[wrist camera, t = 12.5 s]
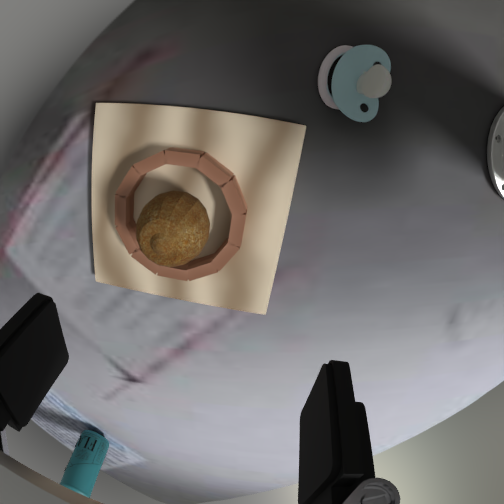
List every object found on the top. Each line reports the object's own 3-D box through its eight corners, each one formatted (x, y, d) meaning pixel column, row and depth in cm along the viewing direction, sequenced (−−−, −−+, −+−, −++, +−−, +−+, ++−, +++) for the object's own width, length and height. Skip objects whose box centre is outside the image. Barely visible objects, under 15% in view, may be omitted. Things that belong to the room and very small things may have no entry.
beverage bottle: (105, 427, 51) (73, 509, 33) (117, 444, 54) (89, 521, 36) (79, 421, 52) (44, 497, 34) (91, 438, 55) (62, 511, 37)
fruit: (143, 197, 30) (107, 228, 23) (198, 169, 29) (173, 193, 21) (173, 251, 32) (148, 293, 25) (228, 228, 31) (214, 268, 24)
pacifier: (307, 104, 27) (368, 127, 27) (314, 102, 21) (388, 132, 22) (329, 35, 24) (389, 59, 24) (341, 17, 18) (414, 49, 18)
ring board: (305, 125, 27) (309, 127, 25) (265, 308, 36) (265, 326, 33) (101, 102, 27) (85, 103, 24) (100, 276, 36) (88, 290, 33)
